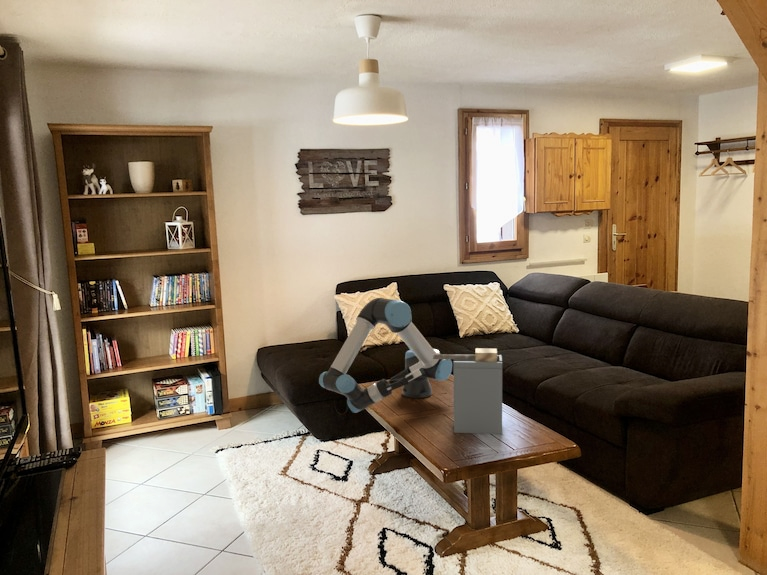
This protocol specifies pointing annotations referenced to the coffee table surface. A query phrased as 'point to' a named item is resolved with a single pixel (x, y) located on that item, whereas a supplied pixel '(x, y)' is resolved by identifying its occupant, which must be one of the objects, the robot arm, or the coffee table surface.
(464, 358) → the maple block
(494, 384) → the shelf
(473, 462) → the coffee table surface
